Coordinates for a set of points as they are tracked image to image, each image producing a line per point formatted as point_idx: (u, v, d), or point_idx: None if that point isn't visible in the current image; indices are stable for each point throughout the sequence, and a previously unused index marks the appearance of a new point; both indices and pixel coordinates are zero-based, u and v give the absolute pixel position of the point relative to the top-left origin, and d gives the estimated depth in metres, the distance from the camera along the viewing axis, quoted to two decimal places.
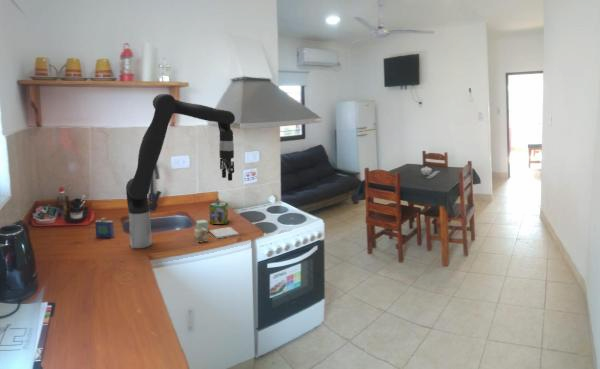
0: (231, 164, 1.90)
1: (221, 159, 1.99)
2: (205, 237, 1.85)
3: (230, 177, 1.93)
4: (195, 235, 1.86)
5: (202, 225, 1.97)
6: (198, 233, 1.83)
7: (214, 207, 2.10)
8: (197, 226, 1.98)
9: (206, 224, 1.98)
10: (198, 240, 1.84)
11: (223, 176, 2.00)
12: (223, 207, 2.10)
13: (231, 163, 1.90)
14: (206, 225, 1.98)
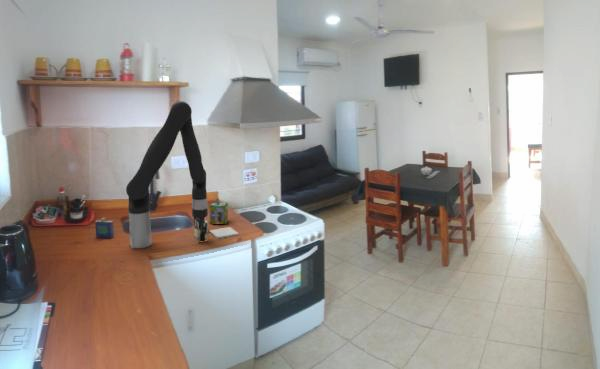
0: (204, 226, 1.80)
1: (195, 217, 1.89)
2: (205, 237, 1.85)
3: (202, 238, 1.83)
4: (194, 235, 1.86)
5: None
6: (198, 233, 1.83)
7: (214, 207, 2.10)
8: None
9: None
10: (198, 240, 1.84)
11: None
12: (223, 207, 2.10)
13: (204, 225, 1.79)
14: None
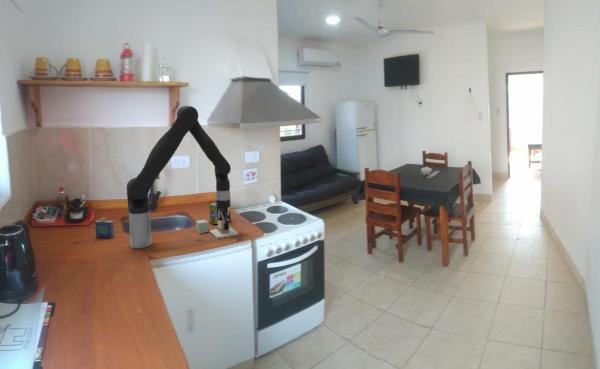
0: (228, 214, 1.89)
1: None
2: None
3: (226, 227, 1.92)
4: (218, 226, 1.97)
5: (202, 225, 1.97)
6: (222, 224, 1.93)
7: (214, 207, 2.10)
8: (197, 226, 1.98)
9: (206, 224, 1.98)
10: (221, 231, 1.94)
11: None
12: None
13: (228, 213, 1.89)
14: (206, 225, 1.98)
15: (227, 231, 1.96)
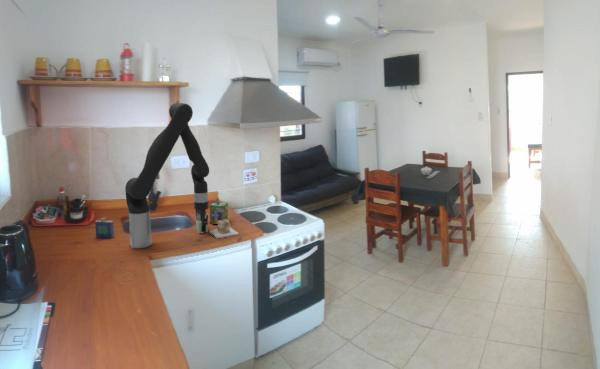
0: (205, 218, 1.93)
1: (196, 210, 2.02)
2: (228, 228, 1.96)
3: (204, 229, 1.97)
4: (218, 226, 1.97)
5: None
6: (222, 224, 1.93)
7: (214, 207, 2.10)
8: (197, 226, 1.98)
9: None
10: (221, 231, 1.94)
11: None
12: (223, 207, 2.10)
13: (205, 217, 1.93)
14: (206, 225, 1.98)
15: (227, 231, 1.96)
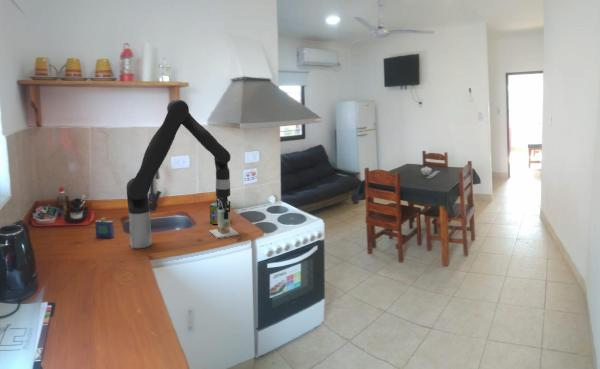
0: (227, 204, 1.88)
1: (217, 197, 1.98)
2: (228, 228, 1.96)
3: (226, 216, 1.92)
4: (218, 226, 1.97)
5: None
6: (222, 224, 1.93)
7: (214, 207, 2.10)
8: (219, 215, 1.94)
9: (228, 213, 1.94)
10: (221, 231, 1.94)
11: None
12: None
13: (227, 203, 1.88)
14: (228, 214, 1.94)
15: (227, 231, 1.96)
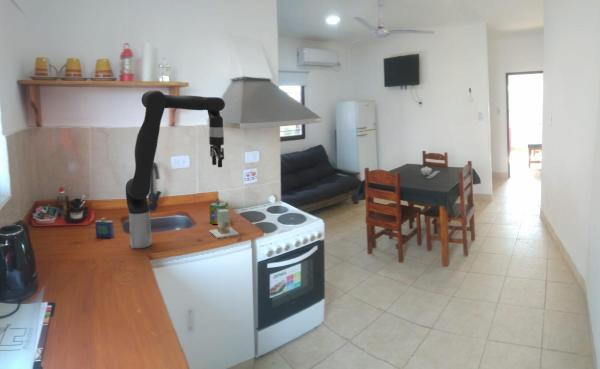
0: (221, 150, 1.89)
1: (211, 146, 1.99)
2: (228, 228, 1.96)
3: (220, 164, 1.92)
4: (218, 226, 1.97)
5: (224, 214, 1.93)
6: (222, 224, 1.93)
7: (214, 207, 2.10)
8: (219, 215, 1.94)
9: (228, 213, 1.94)
10: (221, 231, 1.94)
11: (213, 163, 2.00)
12: (223, 207, 2.10)
13: (221, 149, 1.89)
14: (228, 214, 1.94)
15: (227, 231, 1.96)
